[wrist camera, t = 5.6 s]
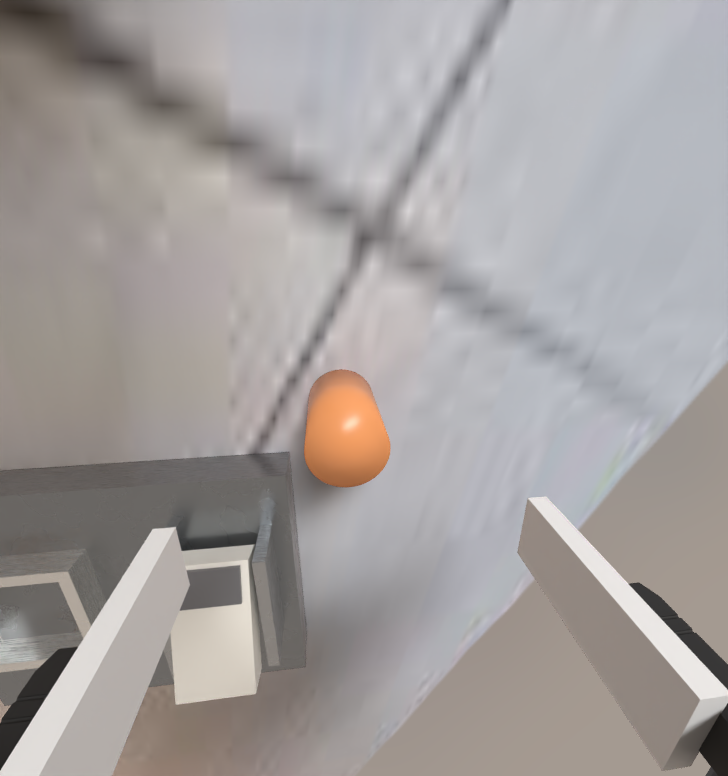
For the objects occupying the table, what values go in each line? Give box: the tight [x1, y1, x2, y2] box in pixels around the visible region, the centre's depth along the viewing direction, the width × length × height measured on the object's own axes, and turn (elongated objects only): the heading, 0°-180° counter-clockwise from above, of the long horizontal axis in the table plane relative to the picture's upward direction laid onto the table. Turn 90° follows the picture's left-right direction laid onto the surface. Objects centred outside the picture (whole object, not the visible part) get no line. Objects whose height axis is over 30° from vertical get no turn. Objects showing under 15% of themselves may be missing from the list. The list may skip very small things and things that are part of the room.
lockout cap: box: [304, 370, 390, 487], centre depth 22 cm, size 5×5×7 cm
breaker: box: [171, 544, 262, 705], centre depth 23 cm, size 9×5×2 cm, turn 0°
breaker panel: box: [0, 452, 307, 706], centre depth 25 cm, size 20×24×6 cm
